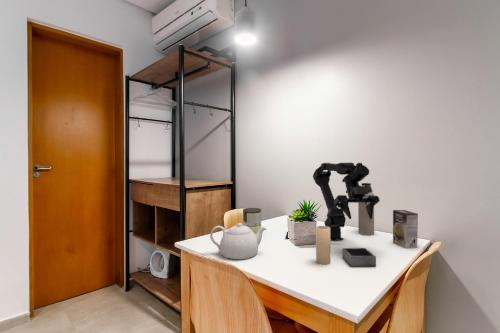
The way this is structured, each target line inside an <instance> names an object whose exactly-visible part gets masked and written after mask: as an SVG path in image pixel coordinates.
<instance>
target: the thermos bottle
mask: <svg viewBox="0 0 500 333" xmlns="http://www.w3.org/2000/svg"><path fill="white" fill-rule="evenodd" d="M360 183H361V182H360ZM365 185H372V183H370V182H362V183H361V185H360V186H361V187H365ZM373 191H374V190H373V188H372V192H370V193H368V194H365V196H364V197H363V198H367V197H368V196H375V193H374V192H373ZM357 204H358V211H357V212H358V217H357V218H358V221H357V222H358V225H357V226H358V229H357V230H358V234H359V235H362V236H374V235H375V207H374V208H373V216H372V219H370V218H369V215H368V213H367V210H366V206H367V205H365V203H357Z"/></svg>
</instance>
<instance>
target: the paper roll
mask: <svg viewBox="0 0 500 333" xmlns="http://www.w3.org/2000/svg"><path fill="white" fill-rule="evenodd" d="M315 257H316V258H315V262H316V263H317V264H319V265H330V264H331V261H332V260H331V239H330V227H328V226H325V225H317V226H316V227H315Z"/></svg>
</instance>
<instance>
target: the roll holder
mask: <svg viewBox="0 0 500 333" xmlns="http://www.w3.org/2000/svg"><path fill="white" fill-rule="evenodd" d="M341 250H342V253H341V254H342V256H341V257H342V259H343V260H344V261H345V263H346V264H348V265H349V267H350V268H373V267H374V268H377V267H376V266H377V256H376V255H375V254H374V253H372V252H371V251H370V250H368V249H367V248H365V247H358V248H356V247H350V248H349V247H348V248H347V247H345V248H341Z"/></svg>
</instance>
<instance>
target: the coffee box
mask: <svg viewBox="0 0 500 333" xmlns="http://www.w3.org/2000/svg"><path fill="white" fill-rule="evenodd" d="M418 215H419V214H418V213H416V212H414V211H413V212H412V211H410V210H405V209H393V210H392V226H393V227H392V242H393V243H394V244H396V245H398V246H400V247H402V248H404V249H412V248H413V249H415V248H416V249H417V248H418V236H419V235H418V232H419V230H418V229H419V228H418V227H419V226H418V224H419V216H418Z"/></svg>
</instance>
